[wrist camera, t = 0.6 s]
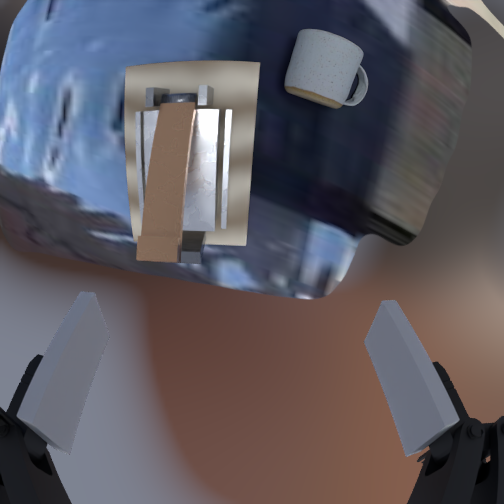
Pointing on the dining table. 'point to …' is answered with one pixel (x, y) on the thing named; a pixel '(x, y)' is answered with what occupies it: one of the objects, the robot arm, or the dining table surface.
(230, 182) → the board
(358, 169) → the dining table surface
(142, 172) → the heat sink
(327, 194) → the dining table surface
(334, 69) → the ceramic mug
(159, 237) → the strap
